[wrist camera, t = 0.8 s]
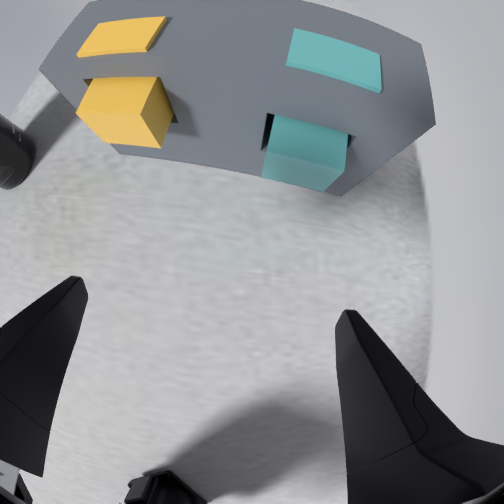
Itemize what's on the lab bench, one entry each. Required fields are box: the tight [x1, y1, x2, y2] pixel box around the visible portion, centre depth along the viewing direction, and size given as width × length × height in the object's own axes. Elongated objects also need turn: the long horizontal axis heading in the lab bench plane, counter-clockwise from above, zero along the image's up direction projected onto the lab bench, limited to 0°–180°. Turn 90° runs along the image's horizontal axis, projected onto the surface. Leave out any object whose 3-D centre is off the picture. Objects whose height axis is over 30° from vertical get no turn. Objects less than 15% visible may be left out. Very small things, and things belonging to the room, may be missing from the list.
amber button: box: [76, 77, 174, 148], centre depth 13 cm, size 4×4×4 cm
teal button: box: [261, 115, 348, 192], centre depth 15 cm, size 4×4×4 cm
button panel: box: [39, 0, 436, 196], centre depth 16 cm, size 6×20×14 cm, turn 78°
